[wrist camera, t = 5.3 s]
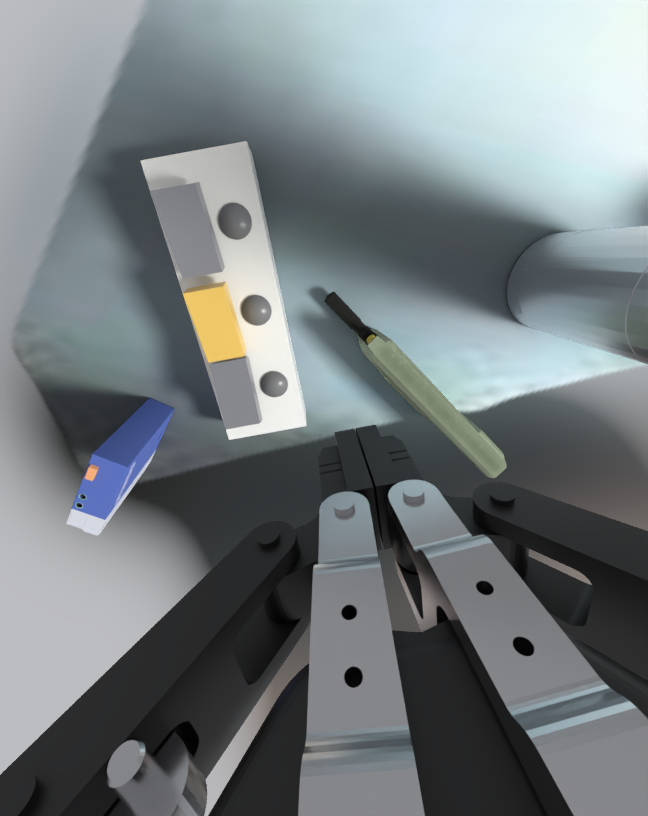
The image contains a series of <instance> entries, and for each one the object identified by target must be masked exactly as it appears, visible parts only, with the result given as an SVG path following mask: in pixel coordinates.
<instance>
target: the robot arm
mask: <svg viewBox="0 0 648 816" xmlns="http://www.w3.org/2000/svg"><path fill="white" fill-rule="evenodd" d="M507 302H508V305H509V309H510V311H511V312H512V314H513V316H514V317H515V318H516V319H517V320H518V321H519V322H520V323H522V324H523V325H525V326H527V327H530V328H534V329H537V330H540V331H543V332H546V333H550V334H552V335H555V336H558V337H562V338H565V339H568V340H571V341H575V342H578V343H581V344H584V345H587V346H591V347H594V348H597V349H600V350H603V351H607V352H610V353H613V354H616V355H620V356H623V357H626V358H629V359H632V360H636V361H639V362H642V363H645V364H648V225H645V226H633V227H621V228H609V229H597V230H582V231H571V232H560V233H554V234H550V235H548V236H545V237H543V238H541V239H539V240H538V241H536V242H535V243H533V244H532V245H531V246H530V247H529V248H528V249H526V250H525V251H524V252H523V254H522V255H521V256H520V258H519V259H518V260H517V262H516V264H515V265H514V267H513V269H512V271H511V274H510V277H509V280H508V286H507ZM335 437H336V443H337V446H332V447H326V448H323V449H322V451H321V452H320V454H319V456H318V461H319V470H320V481H321V490H322V500H323V503H322V504H321V506H320V511H319V514H318V515H317V516H316V518H314V519H313V520H312V521H310V522H309V523H307V524H305V525H303V526H301V527H298V528H296V529H294V528H293V527H292V526H291V525H290V524H288V523H286V522H282V521H273V522H268V523H265V524H262V525H260V526H258V527H257V528H255V529H254V530H253V531H251V532H250V533H249V534H248V535H247V536H246V537H245V538H244V539H243V540H242V541H241V542H240V543H239V544H238V545H237V546H236V547H235V548H234V549H233V550H232V551H231V552H230V553H229V554H228V555H227V556H226V557H224V558H223V559H222V560H221V561H220V562H219V563H218V564H217V565H216V566H215V567H214V568H213V569H212V570H211V571H210V572H209V573H208V574H207V575H206V576H205V577H204V578H203V579H202V580H201V581H200V582H199V583H198V584H197V585H196V586H195V587H194V588H193V589H191V590H190V591H189V592H188V593H187V594H186V595H185V596H184V597H183V598H182V599H181V600H180V601H179V602H178V603H177V604H176V605H175V606H174V607H173V608H172V609H171V610H170V611H169V612H168V613H167V614H166V615H165V616H164V617H163V618H162V619H161V620H160V621H158V622H157V623H156V624H155V625H154V626H153V627H152V628H151V629H150V630H149V631H148V632H147V633H146V634H145V635H144V636H143V637H142V638H141V639H140V640H139V641H138V642H137V643H136V644H135V645H134V646H133V647H132V648H131V649H130V650H129V651H128V652H127V653H126V654H124V655H123V656H122V657H121V658H120V659H119V660H118V661H117V662H116V663H115V664H114V665H113V666H112V667H111V668H110V669H109V670H108V671H107V672H106V673H105V674H104V675H103V676H102V677H101V678H100V679H99V680H98V681H97V682H96V683H95V684H94V685H93V686H92V687H90V689H88V690H87V691H86V692H85V693H84V694H83V695H82V696H81V697H80V698H79V699H78V700H77V701H76V702H75V703H74V704H73V705H72V706H71V707H70V708H69V709H68V710H67V711H66V712H65V713H64V714H63V715H62V716H60V717H59V718H58V719H57V720H56V721H55V722H54V723H53V724H52V725H51V726H50V727H49V728H48V729H47V730H46V731H45V732H44V733H43V734H42V735H41V736H40V737H39V738H38V739H37V740H36V741H35V742H34V743H33V744H32V745H31V746H30V747H28V749H27V750H26V751H24V752H23V753H22V754H21V755H20V756H19V757H18V758H17V759H16V760H15V761H14V762H13V763H12V764H11V765H10V766H9V767H8V768H7V769H6V770H5V771H4V772H3V773H2V774H1V775H0V816H204V814H205V808H206V803H207V784H206V778H207V776H208V775H209V774H210V772H211V771H212V769H213V768H214V766H215V765H216V763H217V762H218V760H219V759H220V757H221V756H222V754H223V753H224V751H225V750H226V748H227V747H228V745H229V744H230V742H231V741H232V739H233V738H234V736H235V735H236V733H237V732H238V730H239V729H240V727H241V726H242V724H243V723H244V721H245V720H246V718H247V717H248V715H249V714H250V712H251V711H252V709H253V708H254V706H255V705H256V703H257V702H258V700H259V699H260V697H261V696H262V694H263V693H264V691H265V690H266V688H267V687H268V685H269V684H270V682H271V681H272V679H273V678H274V676H275V675H276V673H277V672H278V670H279V669H280V667H281V666H282V665H283V663H284V662H285V660H286V658H287V657H288V655H289V654H290V652H291V651H292V650H293V648H294V646H295V645H296V644H297V642H298V640H299V639H300V638H301V636H302V635H303V633H304V632H305V630H306V628H307V627H308V626H309V624H310V623H311V634H310V660H309V664H308V665H306V666H305V667H304V668H303V669H302V670H301V671H299V673H298V674H297V675H296V676H295V677H294V678H293V679H292V680H291V681H290V682H289V683H288V685H287V686H286V687H285V689H284V690H283V691H282V693H281V694H280V696H279V697H278V699H277V700H276V702H275V704H274V706H273V707H272V709H271V711H270V712H269V714H268V716H267V717H266V719H265V721H264V722H263V724H262V726H261V727H260V729H259V731H258V733H257V735H256V736H255V738H254V740H253V741H252V743H251V744H250V746H249V748H248V750H247V751H246V753H245V755H244V756H243V758H242V760H241V761H240V763H239V765H238V767H237V768H236V770H235V772H234V773H233V775H232V777H231V778H230V780H229V782H228V783H227V785H226V787H225V788H224V790H223V792H222V794H221V795H220V797H219V799H218V800H217V802H216V804H215V805H214V807H213V809H212V811H211V812H210V814H209V815H208V816H648V531H645V530H642V529H639V528H637V527H634V526H630V525H628V524H625V523H622V522H619V521H616V520H613V519H610V518H607V517H605V516H602V515H599V514H596V513H593V512H590V511H587V510H584V509H581V508H578V507H576V506H573V505H570V504H567V503H564V502H561V501H558V500H555V499H552V498H549V497H546V496H544V495H541V494H538V493H535V492H532V491H529V490H526V489H523V488H520V487H517V486H515V485H511V484H507V483H501V482H492V483H486V484H483V485H481V486H479V487H478V488H476V489H475V491H474V493H473V498H462V497H450V496H445V495H442V494H441V493H440V492H439V491H438V489H437V488H436V487H435V486H434V485H432V484H430V483H428V482H425V481H424V479H423V478H422V476H421V474H420V472H419V471H418V469H417V467H416V465H415V464H414V462H413V460H412V458H411V457H410V455H409V453H408V451H407V449H406V447H405V446H404V444H403V442H402V441H401V440H399V439H397V438H396V437H394V436H393V435H391V436H386V437H381V436H380V434H379V431H378V429H377V427H376V425H371V426H366V427H360V428H356V433H355V430H354V429H350V430H344V431H339V432H335ZM380 537H381V541H382V544H383V548H384V549H388V548H393V551H394V554H395V560H396V569H397V572H398V575H399V577H400V580H401V582H402V584H403V587H404V589H405V592H406V594H407V597H408V598H409V601H410V604H411V606H412V609H413V611H414V614H415V616H416V618H417V621H418V623H419V626H420V628H421V631H422V632H405V631H392V629H391V623H390V617H389V612H388V606H387V601H386V594H385V589H384V583H383V577H382V572H381V566H380V560H379V553H378V550H382V547H381V541H380ZM529 549H531V550H534V551H536V552H538V553H541V554H543V555H545V556H547V557H549V558H551V559H554V560H556V561H558V562H560V563H562V564H565V565H567V566H569V567H571V568H573V569H575V570H577V571H579V572H581V573H582V574H583V575H585V576H586V577H587V578H588V579H589V580H590V582H591V583H592V585H589V584H587V583H584V582H582V581H580V580H578V579H576V578H574V577H571V576H569V575H567V574H565V573H563V572H561V571H558V570H557V569H554V568H552V567H550V566H548V565H546V564H544V563H542V562H539V561H537V560H535V559H533V558H531V557H529V556H528V555H529Z"/></svg>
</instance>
